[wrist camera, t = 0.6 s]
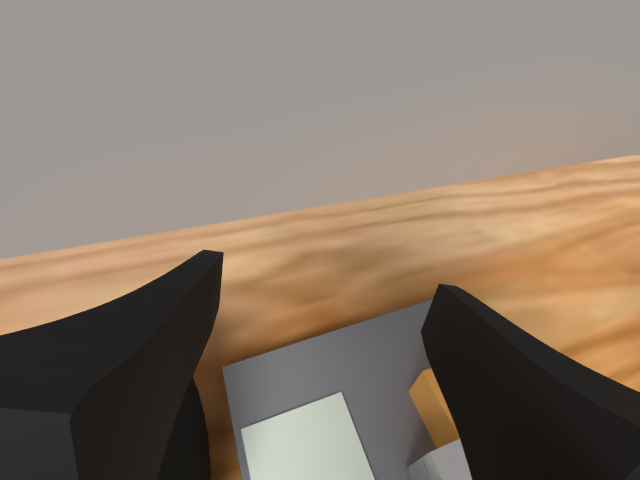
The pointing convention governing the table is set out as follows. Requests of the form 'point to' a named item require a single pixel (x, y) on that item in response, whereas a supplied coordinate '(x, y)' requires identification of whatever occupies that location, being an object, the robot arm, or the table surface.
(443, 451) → the clasp
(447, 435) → the block
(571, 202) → the table surface
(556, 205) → the table surface
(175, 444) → the black and grey cylinder
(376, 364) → the board
